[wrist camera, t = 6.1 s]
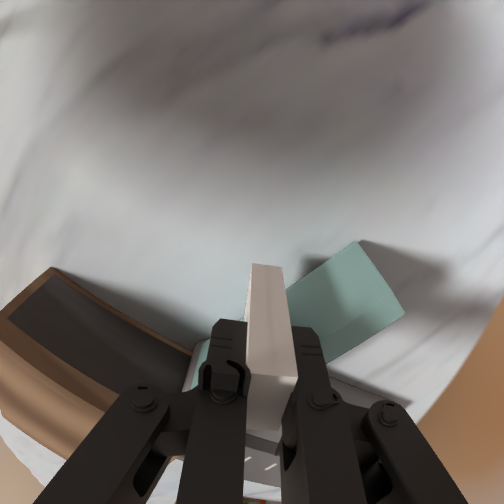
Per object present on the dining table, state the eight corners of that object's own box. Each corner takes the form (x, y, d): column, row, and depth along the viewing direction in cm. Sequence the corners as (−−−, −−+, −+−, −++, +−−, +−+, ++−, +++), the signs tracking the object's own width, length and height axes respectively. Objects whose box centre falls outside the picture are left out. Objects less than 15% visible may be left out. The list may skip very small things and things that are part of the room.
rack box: (150, 429, 23) (131, 491, 16) (38, 364, 21) (2, 416, 14) (206, 359, 19) (186, 449, 12) (51, 266, 16) (-16, 326, 10)
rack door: (190, 346, 18) (168, 419, 13) (353, 236, 15) (395, 295, 9) (217, 369, 19) (204, 441, 13) (375, 270, 15) (418, 335, 10)
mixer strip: (284, 473, 25) (284, 488, 24) (179, 441, 23) (175, 459, 21) (392, 401, 20) (399, 419, 18) (271, 350, 18) (271, 373, 16)
